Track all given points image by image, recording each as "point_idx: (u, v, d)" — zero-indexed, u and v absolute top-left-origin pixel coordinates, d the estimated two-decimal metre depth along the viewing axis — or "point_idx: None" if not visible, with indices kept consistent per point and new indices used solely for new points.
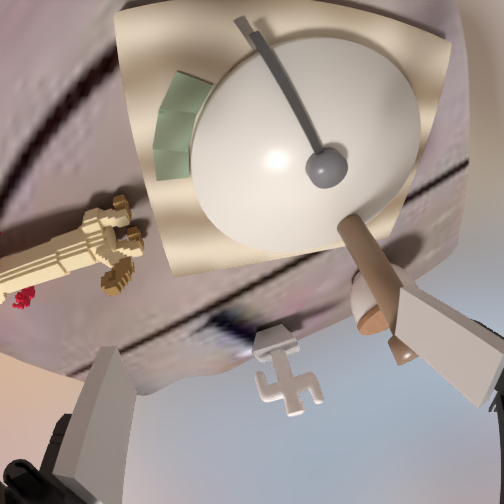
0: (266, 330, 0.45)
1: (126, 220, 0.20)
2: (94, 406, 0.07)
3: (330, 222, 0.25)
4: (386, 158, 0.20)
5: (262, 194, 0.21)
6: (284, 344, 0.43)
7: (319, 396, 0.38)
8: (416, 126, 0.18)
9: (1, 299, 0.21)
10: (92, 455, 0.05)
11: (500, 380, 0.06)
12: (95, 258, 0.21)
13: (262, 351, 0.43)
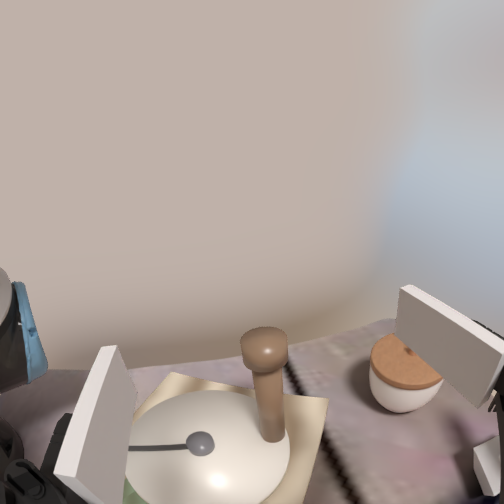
0: (480, 484, 0.13)
1: None
2: (94, 407, 0.07)
3: (260, 447, 0.24)
4: (219, 410, 0.30)
5: (200, 483, 0.20)
6: (487, 457, 0.14)
7: None
8: (205, 393, 0.34)
9: None
10: (93, 454, 0.05)
11: (500, 380, 0.06)
12: None
13: (498, 479, 0.10)
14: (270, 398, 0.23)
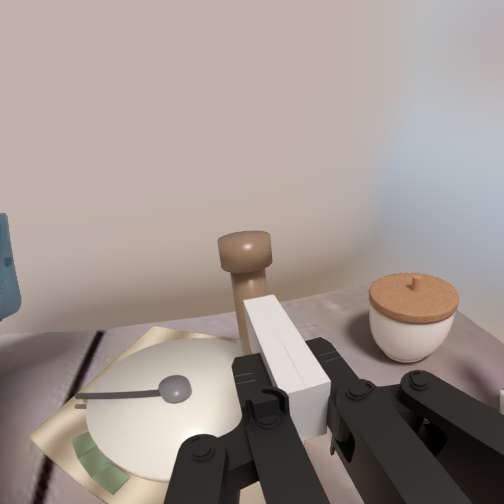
0: None
1: None
2: (279, 338, 0.10)
3: None
4: (201, 357, 0.29)
5: (170, 433, 0.18)
6: None
7: None
8: (186, 340, 0.32)
9: None
10: None
11: (328, 416, 0.08)
12: None
13: None
14: None
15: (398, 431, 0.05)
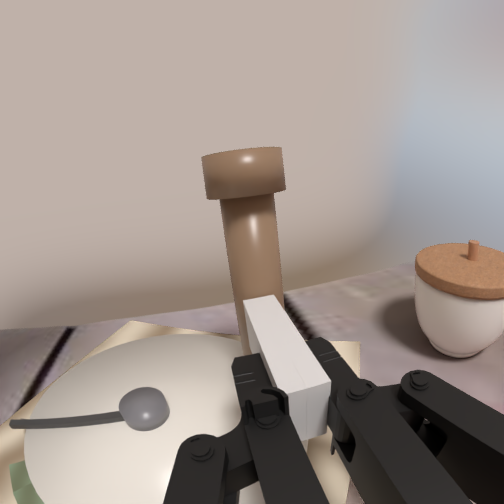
0: None
1: None
2: (279, 338, 0.10)
3: None
4: (174, 359, 0.20)
5: (148, 480, 0.09)
6: None
7: None
8: (152, 339, 0.23)
9: None
10: None
11: (329, 416, 0.08)
12: None
13: None
14: (262, 277, 0.13)
15: (398, 431, 0.05)
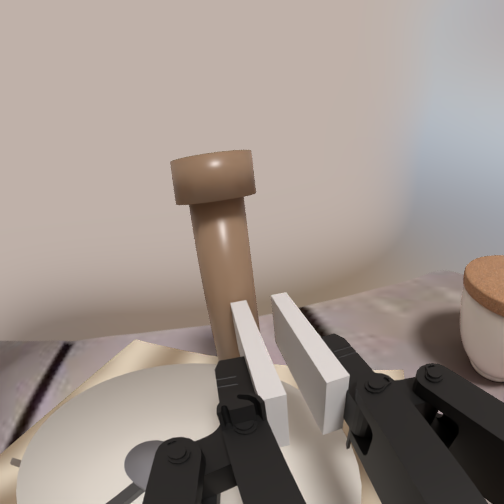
0: None
1: None
2: (263, 342, 0.10)
3: None
4: (132, 404, 0.15)
5: None
6: None
7: None
8: (88, 393, 0.16)
9: None
10: None
11: (346, 410, 0.08)
12: None
13: None
14: (246, 277, 0.14)
15: (414, 424, 0.05)
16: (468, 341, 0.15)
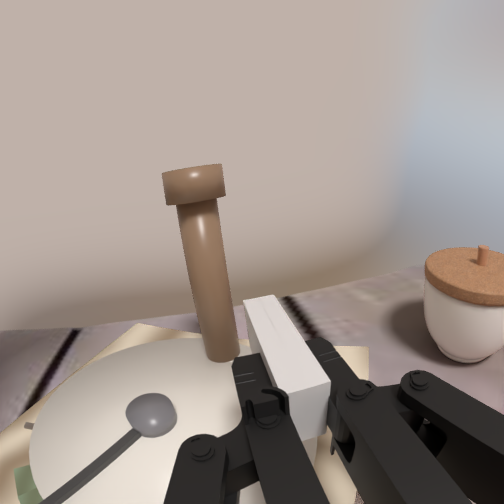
0: None
1: None
2: (280, 338, 0.10)
3: (228, 370, 0.19)
4: (129, 372, 0.19)
5: None
6: None
7: None
8: (91, 366, 0.19)
9: None
10: None
11: (328, 416, 0.08)
12: None
13: None
14: (219, 259, 0.18)
15: (398, 431, 0.05)
16: (429, 323, 0.19)
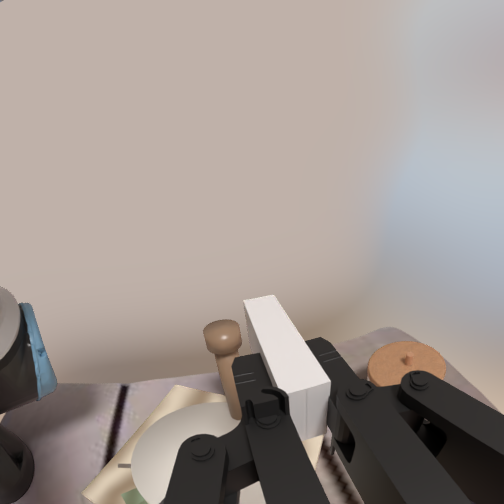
0: None
1: None
2: (279, 338, 0.10)
3: None
4: (184, 427, 0.30)
5: None
6: None
7: None
8: (156, 424, 0.31)
9: None
10: None
11: (328, 416, 0.08)
12: None
13: None
14: None
15: (398, 431, 0.05)
16: None
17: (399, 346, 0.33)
